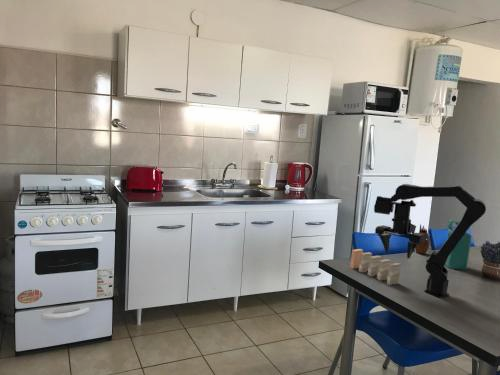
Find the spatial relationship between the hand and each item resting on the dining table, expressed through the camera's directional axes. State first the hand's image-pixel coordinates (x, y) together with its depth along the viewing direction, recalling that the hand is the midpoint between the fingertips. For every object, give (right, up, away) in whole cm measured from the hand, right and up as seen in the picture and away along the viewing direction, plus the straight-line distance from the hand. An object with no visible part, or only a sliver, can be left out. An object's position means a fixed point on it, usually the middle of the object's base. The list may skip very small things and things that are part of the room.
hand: (397, 255), depth 165 cm
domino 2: (-9, -9, +14) cm, 19 cm away
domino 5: (-1, -12, +2) cm, 12 cm away
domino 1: (-12, -8, +19) cm, 24 cm away
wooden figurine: (+30, -7, +52) cm, 60 cm away
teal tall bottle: (+38, -11, +32) cm, 50 cm away
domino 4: (-4, -11, +6) cm, 13 cm away
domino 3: (-7, -10, +10) cm, 16 cm away
